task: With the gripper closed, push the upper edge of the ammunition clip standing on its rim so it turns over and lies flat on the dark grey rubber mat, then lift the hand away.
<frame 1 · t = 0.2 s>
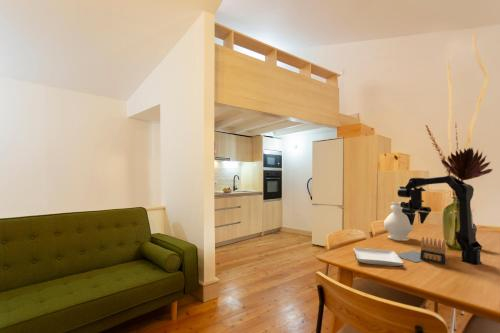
hand: (416, 224, 161), 14 cm above the table, tool pointing down, fingers open, 9 cm apart
ammunition clip: (432, 261, 137), on the table, touching mat
beverage cup: (469, 247, 162), on the table
decorative vase: (398, 238, 185), on the table
mat: (414, 256, 145), on the table
salad plate: (376, 260, 140), on the table
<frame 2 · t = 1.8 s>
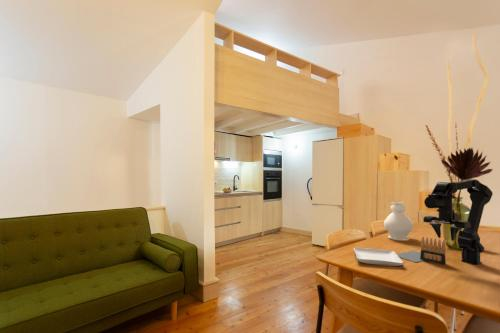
hand: (445, 239, 131), 13 cm above the table, tool pointing down, fingers open, 6 cm apart
nothing on the table moved.
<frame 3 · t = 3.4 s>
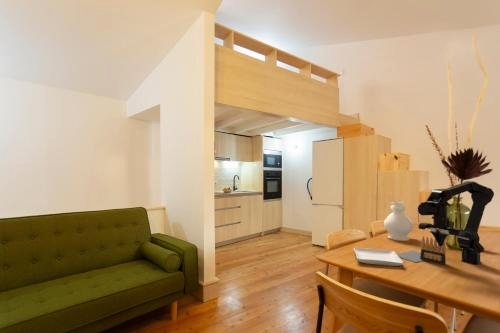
hand: (440, 246, 133), 9 cm above the table, tool pointing down, fingers closed
ammunition clip: (432, 261, 137), on the table, touching gripper, mat
everything else where it was.
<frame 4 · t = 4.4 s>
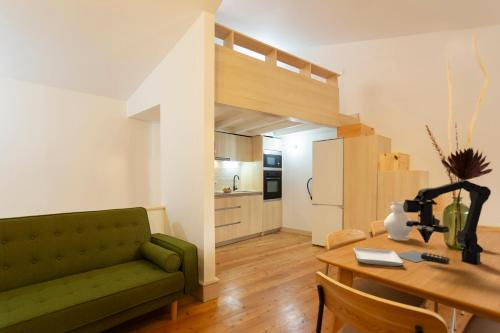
hand: (426, 242, 139), 9 cm above the table, tool pointing down, fingers closed
ammunition clip: (433, 259, 137), point 1 cm above the table, touching mat
everything else where it was.
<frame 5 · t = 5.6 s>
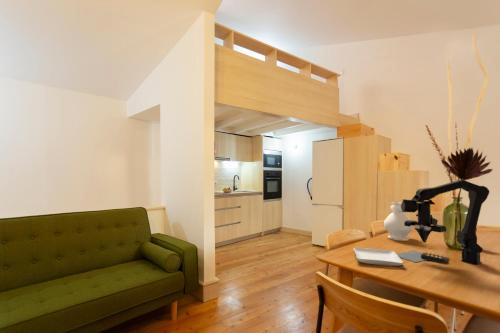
hand: (424, 242, 140), 9 cm above the table, tool pointing down, fingers closed
ammunition clip: (433, 259, 137), point 1 cm above the table, touching mat
everything else where it was.
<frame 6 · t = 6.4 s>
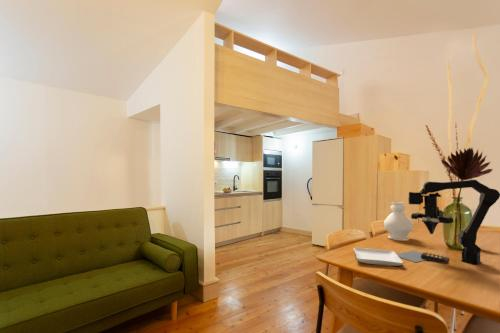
hand: (431, 233, 143), 13 cm above the table, tool pointing down, fingers closed
nothing on the table moved.
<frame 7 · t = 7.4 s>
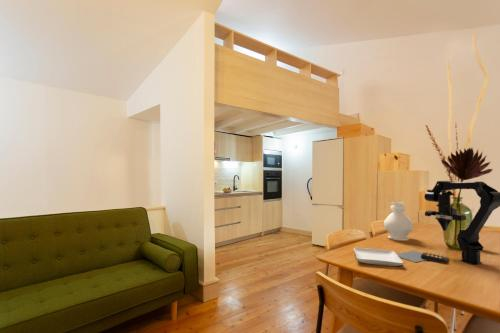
hand: (444, 230, 150), 13 cm above the table, tool pointing down, fingers closed
nothing on the table moved.
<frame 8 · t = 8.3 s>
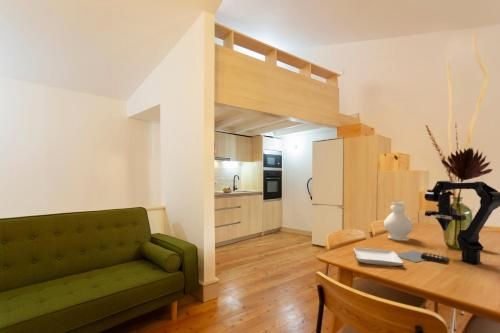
hand: (444, 230, 150), 13 cm above the table, tool pointing down, fingers closed
nothing on the table moved.
at the end: ammunition clip tilted 91°; ammunition clip touching mat, table; ammunition clip moved 1.5 cm from its start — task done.
